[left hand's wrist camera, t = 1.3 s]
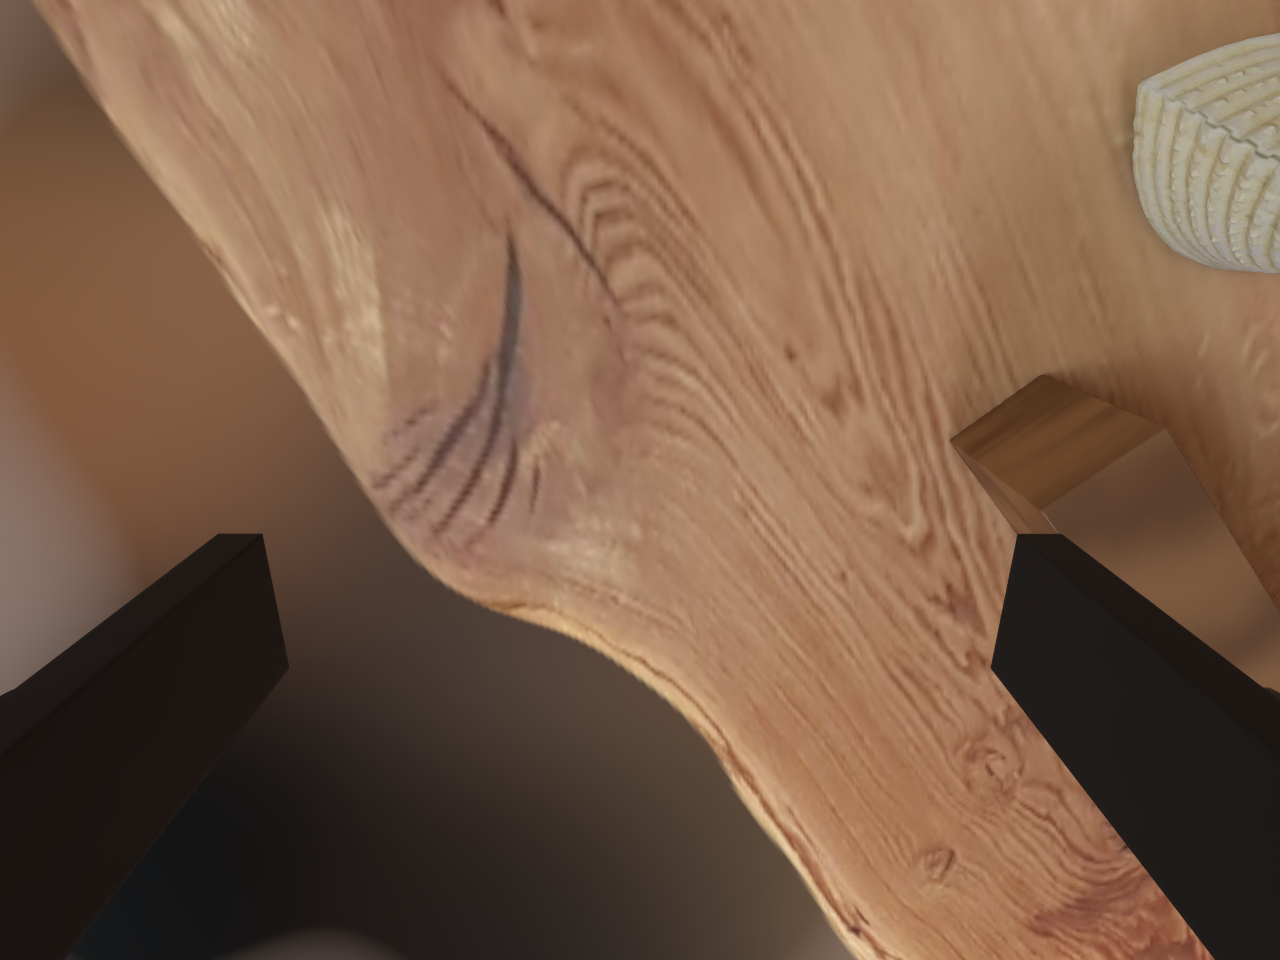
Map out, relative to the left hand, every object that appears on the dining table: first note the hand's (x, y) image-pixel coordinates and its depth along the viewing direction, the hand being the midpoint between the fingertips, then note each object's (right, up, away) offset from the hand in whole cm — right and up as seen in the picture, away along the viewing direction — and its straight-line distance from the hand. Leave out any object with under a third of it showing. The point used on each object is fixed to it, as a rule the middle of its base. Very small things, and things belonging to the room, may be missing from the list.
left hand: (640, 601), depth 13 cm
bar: (+24, -4, +23) cm, 33 cm away
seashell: (+23, +15, +16) cm, 32 cm away
